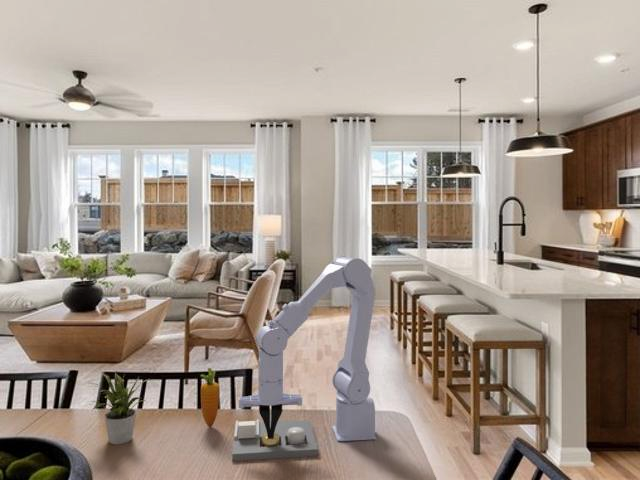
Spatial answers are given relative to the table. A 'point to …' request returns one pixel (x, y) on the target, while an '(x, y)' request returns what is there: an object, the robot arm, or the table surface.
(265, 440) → the brass button
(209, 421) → the carrot
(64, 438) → the table surface
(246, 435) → the white block
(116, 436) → the house plant
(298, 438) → the white button
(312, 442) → the control panel
